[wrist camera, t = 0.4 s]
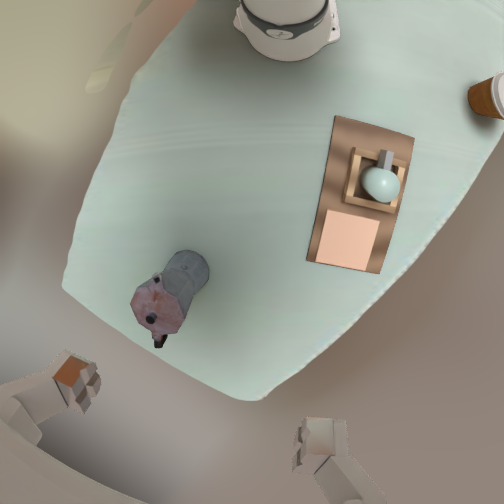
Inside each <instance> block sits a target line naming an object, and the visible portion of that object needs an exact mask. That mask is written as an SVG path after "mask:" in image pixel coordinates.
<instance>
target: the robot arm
mask: <svg viewBox="0 0 504 504" xmlns="http://www.w3.org/2000/svg"><path fill="white" fill-rule="evenodd" d="M239 2H240V6H239V7H238V8H237V10H236V11H237V14H236V16H235V18H234V21H233V24H234V26H235V28H236V29H238V30H239V31H241V32H242V33H244V34H245V35H246V37H247V38H248V40H249V42H250V43H251V45H252V46H253V47H254V48H255V49H256V50H257V51H258V52H260V53H261V54H263V55H265V56H267V57H269V58H272V59H275V60H280V61H298V60H302V59H305V58H308V57H310V56H312V55H314V54H315V53H316V52H318V51H319V50H320V49H321V48H322V47H323V46H325V45H327V44H330V43H333V42H336V41H338V40H339V39H340V28H339V21H338V14H337V7H336V1H335V0H239ZM332 28H333V29H335V31H332ZM96 370H97V366H96V363H94V362H92V361H90V360H87V359H85V358H83V357H81V356H79V355H77V354H75V353H73V352H71V351H68V350H63V351H61V353H60V354H59V355H58V356H57V357H56V358H55V359H54V361H53V362H52V363H51V364H50V365H49V366H48V368H47V369H46V370H45V371H44V372H43V373H42V372H38V373H35V374H33V375H29V376H27V377H24V378H21V379H18V380H15V381H12V382H9V383H6V384H3V385H0V504H147V503H145V502H142V501H139V500H137V499H134V498H131V497H129V496H127V495H124V494H122V493H119V492H117V491H115V490H113V489H111V488H108V487H106V486H104V485H102V484H100V483H98V482H96V481H94V480H92V479H90V478H88V477H86V476H84V475H82V474H80V473H78V472H77V471H75V470H73V469H71V468H69V467H68V466H66V465H64V464H63V463H61V462H60V461H58V460H56V459H55V458H53V457H52V456H50V455H48V454H47V453H45V452H44V451H42V450H41V449H39V448H38V447H36V445H37V443H38V441H39V440H40V439H41V437H42V433H41V431H40V430H39V429H38V427H37V426H36V425H37V424H39V423H41V422H42V421H44V420H46V419H48V418H50V417H52V416H54V415H55V414H57V413H59V412H61V411H63V410H65V409H66V408H68V407H70V408H72V409H74V410H76V411H78V412H80V413H82V414H85V412H86V411H87V409H88V407H89V406H90V404H91V398H92V397H95V396H96V395H97V394H98V392H99V390H100V386H101V378H100V376H99V374H98V373H97V372H96ZM293 449H294V450H295V452H296V454H295V456H294V457H293V461H292V473H299V474H310V475H313V476H314V478H315V480H316V481H317V483H318V485H319V486H320V488H321V490H322V491H323V493H324V495H325V496H326V498H327V500H328V501H329V503H330V504H387V503H386V496H385V494H384V493H383V492H382V491H381V490H380V489H379V488H378V486H377V485H376V484H375V483H374V482H373V480H372V479H371V478H370V477H369V476H368V474H367V473H366V472H365V471H364V470H363V468H362V467H361V466H360V465H359V464H358V462H357V461H356V460H355V459H354V457H352V456H349V450H348V438H347V428H346V422H345V420H341V419H330V418H315V417H304V418H303V420H302V426H301V427H299V428H298V429H297V431H296V435H295V438H294V447H293Z"/></svg>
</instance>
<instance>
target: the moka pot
mask: <svg viewBox="0 0 504 504" xmlns="http://www.w3.org/2000/svg"><path fill="white" fill-rule="evenodd" d="M208 278H209V267H208V265H207V263H206V261H205V260H204V258H203V257H202V256H201V255H199V254H197V253H195V252H193V251H190V250H184V251H180V252H177V253H176V254H175V255H174V256H173V257H172V258H171V260H170V261H169V263H168V264H167V266H166V268H165V269H164V271H163V273H155V274H154V275H153V276H152V278H151V279H149V280H148V281H146V282H145V283H143V284H142V285H140V286H139V287H137V289H136V291H135V294H134V296H133V298H132V301H131V303H130V305H131V307H132V310H133V312H134V314H135V317H136V319H137V321H138V323H139V324H141V325H142V326H144V327H145V328H147V329H148V330H150V331H151V332H152V339H154V347H155V348H162V347H163V344H164V343H165V341H166V339H167V334H175V333H177V331H178V330H179V328H180V326H181V325H182V323H183V321H184V319H185V318H186V315H187V312H188V309H189V306H190V304H191V301H192V298H193V295H194V294H195V293H196V292H197V291H198V290H199V289H200V288H201V287H202V286H203V285H204V284H205V283H206V282H207V281H208Z"/></svg>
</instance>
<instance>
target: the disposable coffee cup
mask: <svg viewBox="0 0 504 504" xmlns="http://www.w3.org/2000/svg"><path fill="white" fill-rule="evenodd" d="M468 100H469V103H470V105H471V107H472V109H473V110H474V111H475V112H476V113H478V114H480V115H485V116H489V117H494V118H498V119H503V120H504V72H498V73H497V74H496V75H495V76H494V77H492V78H490V79H487V80H485V81H483V82H480V83H478V84H476V85H474V86H472V87H470V89H469V91H468Z"/></svg>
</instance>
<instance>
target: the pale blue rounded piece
mask: <svg viewBox="0 0 504 504" xmlns="http://www.w3.org/2000/svg"><path fill="white" fill-rule="evenodd" d="M393 156H394V152H391V151H388V150H382V149H381V150H380V155H379V160H378V165H377V166H375V165H370V166H367V167H365V168H364V169H363V170H362V171H361V173H360V176H359V182H360V185H361V187H362V188H363V189H364V190H365V191H366V192H368V193H369V194H370V195H371V196H373V197H374V198H375V199H376V200H378V201H380V202H384V203H386V202H390V201H392V200H394V199H395V198H396V197H397V196H398V194H399V191H400V182H399V179H398V177H397V176H396V175H395V174H394V173H393V172H391V171H390V170H391V166H392V161H393Z"/></svg>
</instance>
